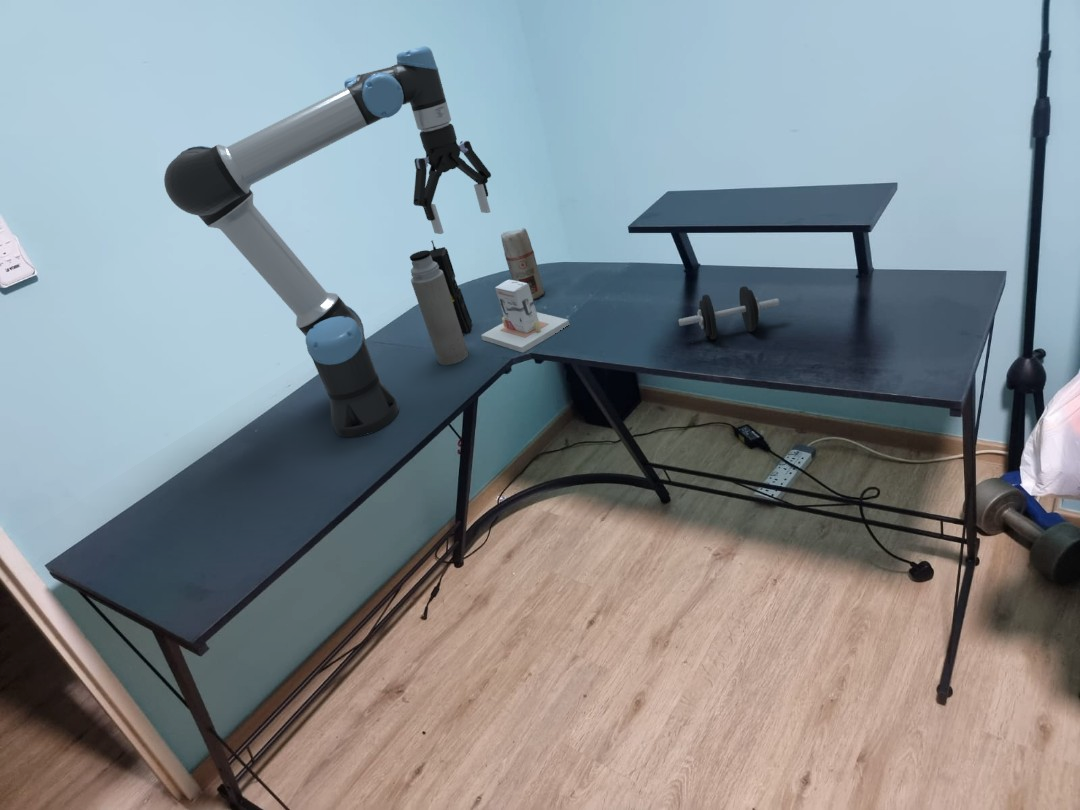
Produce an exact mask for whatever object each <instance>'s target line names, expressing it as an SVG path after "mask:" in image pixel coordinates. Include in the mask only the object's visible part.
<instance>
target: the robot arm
mask: <svg viewBox="0 0 1080 810" xmlns="http://www.w3.org/2000/svg"><path fill="white" fill-rule="evenodd" d="M407 104H410V107H411V110H412V114H413V118H414V121H415V123H416V127H417V129H418V130H419V131H420V132H419V137H420V141H421V144H422V148H423V149H424V151H425V157H422V158H419V157H418V158H417V157H416V158H415V159H414V166H415V170H416V171H415V178H414V179H415V180H414V181H415V182H414V189H413V190H414V191H413V192H414V193H413V202H412V203H413V205H414V206H416V207H422V208H423V210H424V214H425V217H426V220H427V221H430V223H431V225H432V229H433V232H434V234H439V235H442V234H444V232H445V231H444V229H443V225H442V223H441V219H440V216H439V213H438V210H437V206H436V204H434V203H433V200H434V197H435V193H436V191H437V187H438V184H439V180H440V178H441V176H442V175H443V173H447V172H449V171H450V170H455V169H456V168H457V169H459V170H460V171H461V172H462V173H464V174H465V175H466V176H468V178H470V179H471V180H473V181H474V182H475V184H473V188H474V191H475V195H476V198H477V202H478V206H479V209H480V212H481V213H485V214H489V213H491V209H490V206H489V205H490V204H489V202H488V197H489V190H488V187H487V183H488V179H489V178H490V179H491V177H492V173H491V172H490V171H489V169H488V167H487V166H486V165H485V164H484V163H483V161H482V160H481V159H480V158H479V156H478V155H477V153H476V152H475V151H474V149H473V147H472V145H471V142H470V141H469V140H462V141H460V142H459V144H458V142H457V135H456V131H455V127H454V125H453V124H452V123H450V122H451V121H452V118H451V114H450V110H449V107H448V103H447V99H446V95H445V92H444V87H443V84H442V80H441V76H440V73H439V68H438V66H437V63H436V60H435V57H434V54H433V51H432V49H431V48H430V47H428V46H419V47H415V48H412V49H408V50H406V51H401V52H398V53H397V54H396V64H394V65H392V66H389V67H385V68H382V69H377V70H373V71H370V72H366V73H361V74H357V75H355V76H352V77H349V78H347V79H345V80H344V88H343V89H341V90H339V91H337V92H335V93H333V94H331V95H329V96H327V97H325V98H322V99H321V100H319V101H317V102H315V103H313V104H311V105H309V106H307V107H305V108H303V109H300V110H299V111H297V112H295V113H292V114H291V115H289V116H287V117H285V118H283V119H280V120H279V121H277V122H274V123H272V124H271V125H269V126H267V127H264V128H262V129H260V130H259V131H257V132H254V133H252V134H251V135H248V136H247V137H245V138H242V139H241V140H238V141H237V142H234V143H232V144H231V145H228V146H224V145H221V144H217V145H214V146H212V147H209V146H204V145H203V146H202V145H198V146H191V147H189V148H187V149H185V150H183V151H181V153H179V154H178V155H177V156H176V157H174V159H172V161H170V163H169V164H168V166H167V167H166V169H165V174H164V178H163V180H164V181H163V182H164V187H165V191H166V195H168V197H169V199H170V200H171V202H172V203H173V204H174V205H175V206H177V208H178V209H180V210H182V211H184V212H185V213H187V214H189V215H194V216H197V217H199V218H200V219H201V221H202V222H203V223H204V224H205V225H206V226H207V227H208V228H214V229H217V230H218V229H219V230H220V231H221V232H222V233H223V234H224V235H225V237H226V238H228V240H229V241H230V242H231V243H232V244H233V246H234V247H236V249H237V250H238V251H239V252H240V254H241V255H242V256H243V257H244V259H246V260H247V261H248V263H249V264H250V265H251V266H252V267H253V268H254V269H255V270H256V271H257V273H258V274H259V275H260V276H261V277H262V278H263V279H264V280H265V282H266V283H267V284H268V285H269V286H270V287H271V288H272V290H273V291H274V292H275V293H276V294H277V295H278V296H279V298H280V299H281V300H282V301H283V302H284V303H285V304H286V305H287V306H288V308H289V309H290V310H291V311H292V312H293V314H294V315H295V316H296V321H295V325H296V327H297V328H298V329H299V331H301V333H302V334H303V336H305V345H306V350H307V352H308V354H309V356H310V358H311V359H312V361H313V364H314V366H315V368H316V370H317V373H318V376H319V377H320V379H321V382H322V384H323V387H324V390H325V391H326V393H327V396H328V398H329V403H330V418H331V425H332V427H333V429H334V432H335V434H337V436H340V437H344V438H355V437H356V436H357V437H361V436H360V435H362V436H365V435H364V434H366V435H368V434H367V433H369V434H372V433H374V432H376V431H379V430H380V429H382V428H384V427H385V426H387V425H389V424H390V423H392V421H394V419H396V417H397V415H398V413H399V412H400V407H399V405H398V402H397V400H396V397H395V396H394V395H393V394H392V393H391V392H390V390H389V389H388V388H387V386H385V384H383V382H382V381H381V379H380V377H379V374H378V372H377V369H376V368H375V364H374V361H373V359H372V356H371V355H370V354H371V353H370V351H369V348H368V345H367V340H366V337H365V329H364V324H363V323H362V319H361V318H360V316H359V314H358V313H357V312H356V311H355V310H354V309H353V308H352V307H350V306H348V305H346V304H345V302H344V301H343V300H342V299H341V297H340V296H339V295H338V294H337V293H334V292H328V291H326V289H324V287H323V286H322V285H321V283H319V281H318V280H317V279H316V278H315V277H314V275H313V274H312V272H310V270H309V269H308V268H307V267H306V266H305V265H304V263H303V262H302V260H300V258H298V257H297V255H296V254H295V252H294V251H293V250H292V249H291V248H290V247H289V245H288V244H287V243H286V242H285V240H284V239H283V238H282V237H281V235H279V233H278V232H277V231H276V230H275V229H274V227H273V226H272V225H271V224H270V223H269V221H268V220H267V219H266V218H265V217H264V215H262V213H261V212H260V211H259V209H258V208H257V207H256V206H255V205H254V192H253V191H252V190H251V186H252V185H254V184H256V183H257V182H260V181H261V180H263V179H265V178H267V177H270V176H271V175H273V174H275V173H277V172H279V171H281V170H283V169H285V168H287V167H289V166H291V165H293V164H295V163H296V162H299V161H300V160H303V159H305V158H307V157H309V156H311V155H313V154H314V153H316V152H318V151H320V150H322V149H324V148H326V147H328V146H330V145H332V144H334V143H336V142H338V141H340V140H342V139H345V138H346V137H347V136H348V137H349V136H350V135H352V134H354V133H356V132H359V131H360V130H361V129H363V128H364V129H365V128H366V127H367V126H369V125H372V124H375V123H376V122H378V121H380V120H382V119H385V118H386V119H387V118H390V117H391V118H392V117H393V116H395V115H396V114H397V113H399V111H400V110H401V108H402V106H403V105H407ZM461 153H462V154H463V155H464V156H465V158H466V159H467V160H468V162H469V163H470V164H471V166H472V167H471V166H470V165H469V164H468V163H466V162H467V161H465V160H464V159H462V158H461V157H460V155H461ZM428 165H429V166H430V168H429V170H428V178H427V168H428ZM371 432H372V433H371Z"/></svg>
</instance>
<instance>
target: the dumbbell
mask: <svg viewBox="0 0 1080 810" xmlns="http://www.w3.org/2000/svg"><path fill="white" fill-rule="evenodd" d="M738 297H739V306H736V307H732V308H726V309H724V310H723V309H722V310H718V311H717V310H716V311H715V310H714V306H713V303H712V299H711V298H710V296H709V294H704V295H702V296H701V300H699V302H698V303H699V308H698V309H697V315H691V316H688V317H683V318H679V319H678V320H677V321H678V325H679V326H682V327H683V326H686V325H692V324H697V323H698V324H699V326H700V328H701V330H703V332H704V334H705V336H706V337H709V339H710V340H716V339H717V337H718V336H717V335H718V329H717V328H718V327H717V321H716V319H717V318H719V319H720V318H723V317H728V316H733V315H738V314H741V317H742V319H743V322H744V323H743V324H744V326H745V328H746V330H747V331H748V332H751V333H752V332H754V331H755V330H756V327H757V326H758V325H759V318H760V317H761V316H760V310H765V309H769V308H772V307H779V305H780V301H779V298H772V299H767V300H762V301H759V300H758V298H757V297H755V294H754V292H753V290H752V289H749V287H748V286H746V285H745V286H744V285H743V286H742V287H740V288H739V296H738ZM758 301H759V302H758Z"/></svg>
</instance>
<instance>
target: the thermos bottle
mask: <svg viewBox="0 0 1080 810" xmlns="http://www.w3.org/2000/svg"><path fill="white" fill-rule="evenodd" d="M430 251H431V250H425V249H424V250H420V251H417V252H414V253H412V254H411V255H410V256H409V259H410V261H411V264H412V268H411V269H410V273H411V274H410V275H411V279H410V283H411V285H412V288H413V292H414V295H415V298H416V300H417V302H418V305H419V309H420V312H421V316H422V318H423V321H424V324H425V326H426V329H427V332H428V335H429V338H430V339H429V340H430V341H431V344H432V348H433V350H434V353H435V356H436V358H437V361H438V364H440V365H444V366H447V365H448V366H449V365H454V364H457V363H460V362H462V361H464V360H465V359H466V358H468V356H469V351H468V346H467V344H466V341H465V338H464V334H462V331H461V327H460V324H459V321H458V318H457V315H456V312H455V309H454V305H453V302H452V299H451V296H450V292H449V289H448V286H447V283H446V280H445V276H444V273H443V271H442V270H440V269H439V265H438V264H437V263H436V262H434V261H433V260H432V257H431V256H430Z"/></svg>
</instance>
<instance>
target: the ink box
mask: <svg viewBox="0 0 1080 810" xmlns="http://www.w3.org/2000/svg"><path fill="white" fill-rule="evenodd" d="M494 290H495V293H496V295H497V298H498V303H499V306H500V309H501V312H502V315H503V316H502V317H504V319H505V322H506V325H507V328H510V329H513V330H517V331H521V332H524V333H528V332H530V331H532V330H533V329H535V325H534V322H537V321H538V322H539V320H538V316H537V313H536V312H537V310H536V306H535V302H534V299H533V298H532V295H531V291H530V287H529V285H528V284H527V283H524V282H519V281H515V280H512V279H507V280H505V281H502V282H501V283H500V284H499V285H497V286H495V287H494ZM539 325H540V324H539Z"/></svg>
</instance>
